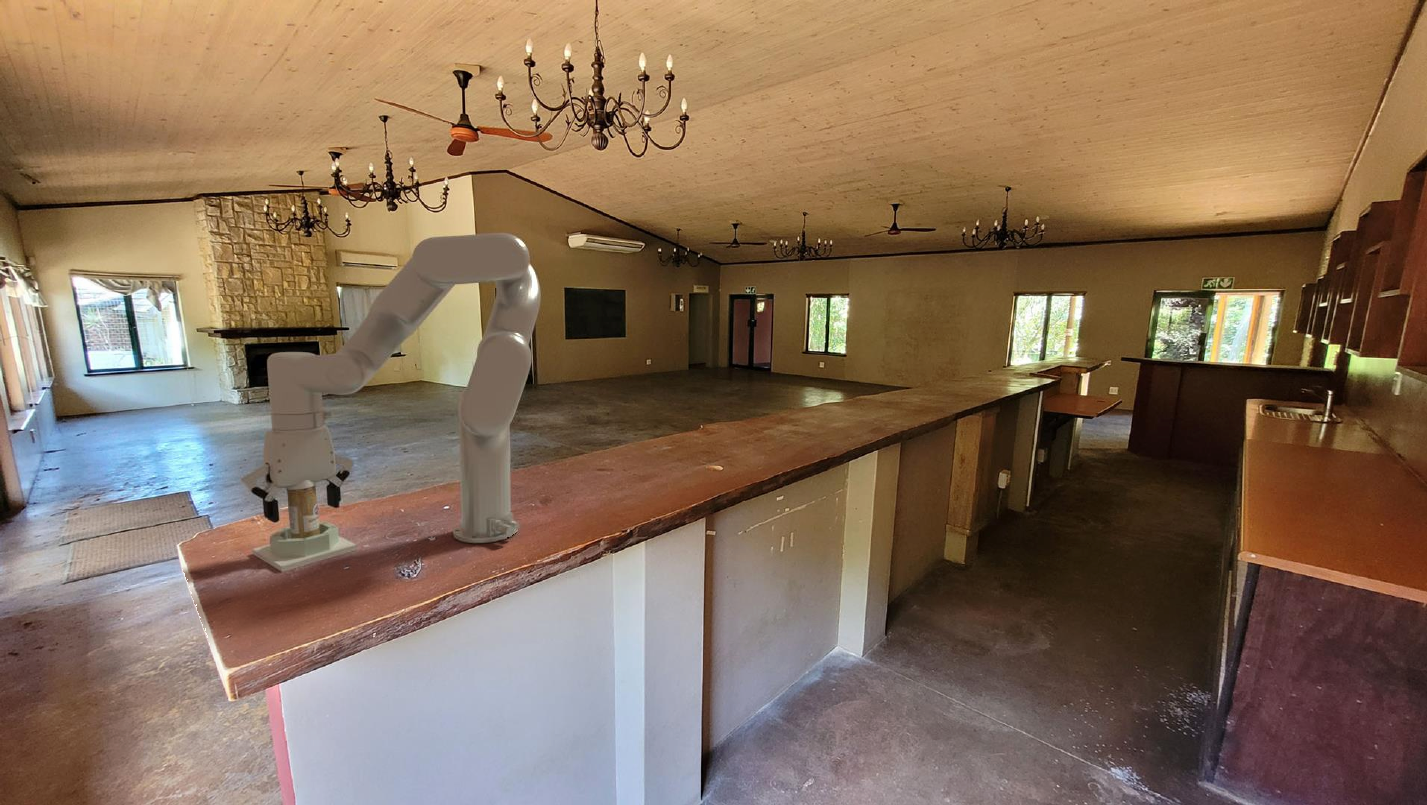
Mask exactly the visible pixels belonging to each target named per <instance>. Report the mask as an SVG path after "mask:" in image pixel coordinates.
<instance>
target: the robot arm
mask: <svg viewBox="0 0 1427 805" xmlns="http://www.w3.org/2000/svg"><path fill="white" fill-rule="evenodd" d="M530 258H531V257H530V252H529V249H528V247H527V245H526V244H525V242H523V240H522V239H520V238H519V237H517V236H516V235H513V234H511V233H506V232H492V233H490V232H489V233H478V234H465V235H447V236H446V235H445V236H433V237H427V238H425V239H423V240H421V241H419V243H418V244H417V245H416V246H415V248H414V249H413V251H412V255H411V258H410V259H409V260H408V261H407V262H406V263H405V264H404V266H402V268H400V270H399V271H398V272H397V274H396V275H395V276H394V277H393V278H392V279H391V280H390V281H389V283H388V284H386V285H385V287H384V288H383V289H382V290H381V291H380V292H379V293H378V294H377V295H376V297H375V299H374V300H373V301H372V304H371V305H370V309H369V311H368V313H367V314H366V317H365V319H364V320H363V322H362V323H361V324H360V326H359V327H358V328H357V329H356V330H355V332H354V333H353V334H352V335H351V336H350V337H349V338H348V340H347V341H346V342H345V343H344V344H343V345H342V346H341V347H340V349H338V351H337V352H335V353H329V354H315V353H312V352H305V351H304V352H303V351H285V352H283V351H281V352H275V353H274V352H273V353H272V354H271V355H269V356H268V357H267V360H266V365H267V366H266V367H267V368H266V369H267V379H268V391H269V392H268V393H269V394H268V395H269V405H270V406H269V407H270V418H271V429H268V430H265V431H266V432H265V436H264V443H263V444H264V445H263V454H262V466H260V467H259V468H257V469H256V470H254V471H252V472H251V473H249V474H247V475H245V476H244V477H243V478H241V481H240V482H241V483H242V484H243V486H245V487H246V490H248V491H249V492H250V493H251V494H253V495H254V496H256V497H258V498H260V499H262V508H263V517H264V518H265V519H267V520H268V521H270V522H272V523H278V522H279V521H280V511H279V501H278V500H277V499H276V496H277V495H278V494H279V493H280V491H281V490H282V489H286V487H292V486H296V485H299V484H302V482H303V481H305V480H309V481H311V482H316V483H318V482H321V481H327V483H328V484H327V485H326V487H325V488H326V489H325V490H326V503H327V506H329V507H332V508H334V509H338V508H340V502H341V501H342V495H341V494H342V493H341V492H342V491H341V487H342V486H343V485H344V482H345V481H346V480H347V479H348V477H349V476H350V472H351V471H352V468H353V467H354V464H355V461H354V460H352V459H349V458H346V457H343V456H339V455H336V453H335V448H334V444H333V440H332V435H331V432H330V430H329V427H328V426H326V421H327V420H331V419H332V413H331V411H325V410H324V407H323V394H329V395H338V396H341V395H343V396H346V395H351V394H354V393H356V392H358V391H360V390H361V389H363V387H365V386H366V385H367V384H368V383H369V382H370V381H371V380H372V379H373V378H374V376H376V374H377V373H378V372H379V370H380V369H381V368H382V367H383V366H384V365H385V364H386V362H387V361H388V360H389V359H390V358H391V356H392V355H393V354H394V353H395V352H396V351H397V349H398V348H400V347H401V345H402V344H404V342H405V341H406V340H407V339H408V338H410V337H411V336H412V335H413V334H414V333H415V332H416V331H417V329H418V328H419V327H420V326H421V325H422V324H423V323H424V321H426V319H427V318H428V317H429V316H430V314H432V313H433V311H434V310H435V309H436V307H438V305H439V304H440V303H441V302H442V301H443V300H444V299H445V297H446V296H447V295H448V294H449V293H450V291H451V290H452V289H453V288H454V287H455V285H467V284H477V283H479V284H481V283H489V282H493V283H494V285H495V290H496V293H495V300H494V302H493V305H492V309H491V313H490V315H489V320H488V322H487V324H486V328H485V330H484V333H483V336H482V338H481V340H480V341H479V343H478V345H477V350H476V358H475V361H474V364H473V367H472V371H471V373H470V377H469V380H468V382H467V385H466V387H464V389H463V390H462V391H461V393H460V396H459V398H458V402H457V403H458V404H457V406H458V408H457V410H458V412H457V413H458V430H459V473H460V474H459V475H460V478H459V480H460V483H459V484H460V507H461V508H460V516H461V517H460V518H461V519H460V520H461V521H460V522H461V523H458V524H457V525H456V526H455V527H454V528H453V529H452V530H453V531H452V536H453V538H454V539H456V540H457V541H460V542H462V543H467V544H486V543H487V544H488V543H494V542H499V540H500V541H503V540H506V539H508V538H507V537H509V538H511V537H513V536H514V535H515V533H516V532H517V533H518V531H519V529H518V528H520V527H521V526H520V523H519V522H518V521H517V520H515V519H514V513H513V512H511V511H512V508H511V503H512V502H511V500H512V499H511V431H510V428H511V427H510V424H511V423H512V422H513V419H514V416H515V415H516V411H517V408H518V405H519V402H520V401H521V398H522V397H521V396H522V394H523V391H524V389H525V386H526V382H527V380H528V375H529V373H530V369H531V366H532V352H531V348H530V346H529V344H530V342H531V338H532V336H533V332H534V329H535V325H536V322H537V318H538V314H539V310H540V306H541V297H542V293H541V285H540V282H539V278H538V276H537V274H536V271H535V269H534V267H533V265H532V264H531V263H530V260H531V259H530ZM337 464H339V465H340V464H341V469H340V470H339V471H338V472H337ZM262 478H263V482H264V483H266V485H265V487H263V489H262V488H260V487H259V485H258V484H257V482H258V480H260V479H262ZM517 533H516V534H517ZM513 534H514V535H513ZM512 535H513V536H512Z"/></svg>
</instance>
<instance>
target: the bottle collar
mask: <svg viewBox="0 0 1427 805" xmlns="http://www.w3.org/2000/svg"><path fill="white" fill-rule="evenodd" d="M319 531H320V534H319V535H315V536H311V537H307V538H296V539H292V536H291V532H290V525H289V526H285V527H281V528H279V529H278V530H277V531H275V532H273V533H272V534H271V535H269V544H267V545H263V546H259V547H256V548H252V555H254V556H256V557H257V558H259V559H260V560H262V561H263V562H265V563H266V564H268V565H270V566H272V567H274V568H275V569H276V570H278V571H279V572H282V573H283V572H287V571H291V570H294V569H296V568H301V567H304V566H307V565H310V564H315V563H318V562H320V561H324V560H327V559H330V558H334V557H337V556H341V555H345V554H349V553H350V552H354V551H357V550H358V544H357V543H355V542H353V541H350V540H348V539H347V538H343V537H342V536H339V526H337V525H336V524H333V523H331V522H329V521H321V522H320V521H319Z"/></svg>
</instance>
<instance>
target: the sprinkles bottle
mask: <svg viewBox="0 0 1427 805" xmlns="http://www.w3.org/2000/svg"><path fill="white" fill-rule="evenodd" d="M316 487H317V482H311V481H309V480H305V481H303V482H302V484H299V485H296V486H292V487H286V488H285V489H286V494H287V508H288V510H287V512H288V519H289V526H290V532H291V536H292V539H296V538H307V537H311V536H315V535H319V534H320V531H319V522H320V518H319V516H320V515H319V506H318V502H317V501H318V500H317V489H316Z"/></svg>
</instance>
